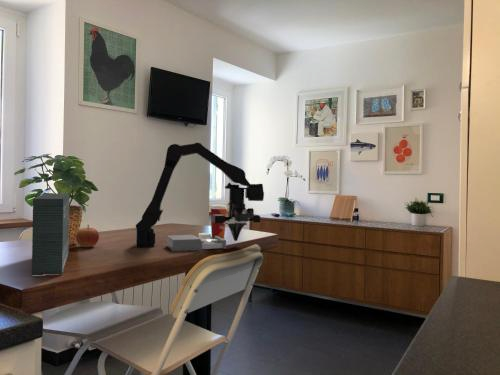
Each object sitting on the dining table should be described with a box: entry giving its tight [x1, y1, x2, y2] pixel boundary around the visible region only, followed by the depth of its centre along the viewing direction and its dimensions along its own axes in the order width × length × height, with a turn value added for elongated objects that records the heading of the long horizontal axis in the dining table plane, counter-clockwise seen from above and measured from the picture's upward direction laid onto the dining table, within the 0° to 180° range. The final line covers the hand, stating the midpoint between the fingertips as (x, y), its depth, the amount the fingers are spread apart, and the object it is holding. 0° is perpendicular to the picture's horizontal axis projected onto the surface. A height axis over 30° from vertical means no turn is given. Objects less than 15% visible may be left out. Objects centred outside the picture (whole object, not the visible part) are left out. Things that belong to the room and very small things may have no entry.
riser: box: [198, 232, 212, 239], centre depth 163 cm, size 4×4×4 cm
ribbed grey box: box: [31, 192, 70, 276], centre depth 117 cm, size 29×7×20 cm, turn 21°
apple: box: [74, 224, 100, 248], centre depth 146 cm, size 8×8×8 cm
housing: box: [166, 234, 203, 252], centre depth 149 cm, size 10×11×4 cm
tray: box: [202, 236, 227, 250], centre depth 153 cm, size 11×11×3 cm
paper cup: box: [210, 204, 228, 239], centre depth 179 cm, size 8×8×14 cm
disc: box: [201, 238, 218, 244], centre depth 153 cm, size 7×7×2 cm
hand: (235, 240), depth 157 cm, fingers closed
